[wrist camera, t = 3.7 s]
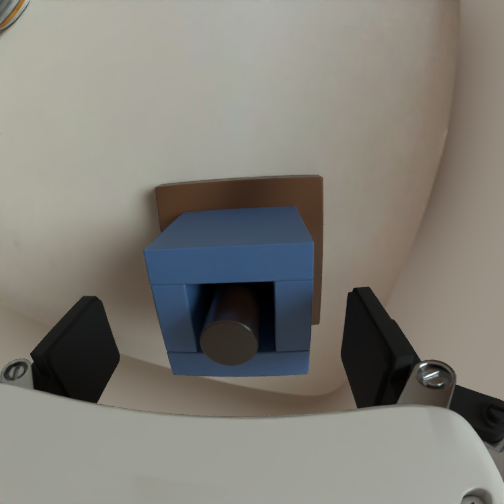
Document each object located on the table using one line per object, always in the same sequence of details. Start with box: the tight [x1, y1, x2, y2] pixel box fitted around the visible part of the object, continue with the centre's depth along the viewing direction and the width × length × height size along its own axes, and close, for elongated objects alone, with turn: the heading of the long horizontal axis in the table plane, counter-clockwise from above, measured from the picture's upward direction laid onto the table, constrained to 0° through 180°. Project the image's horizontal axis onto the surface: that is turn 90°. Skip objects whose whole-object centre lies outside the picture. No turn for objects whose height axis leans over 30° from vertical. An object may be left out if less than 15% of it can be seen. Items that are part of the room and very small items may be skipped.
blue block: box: [144, 206, 314, 377], centre depth 14 cm, size 6×6×6 cm
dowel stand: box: [155, 175, 323, 366], centre depth 14 cm, size 9×9×9 cm
